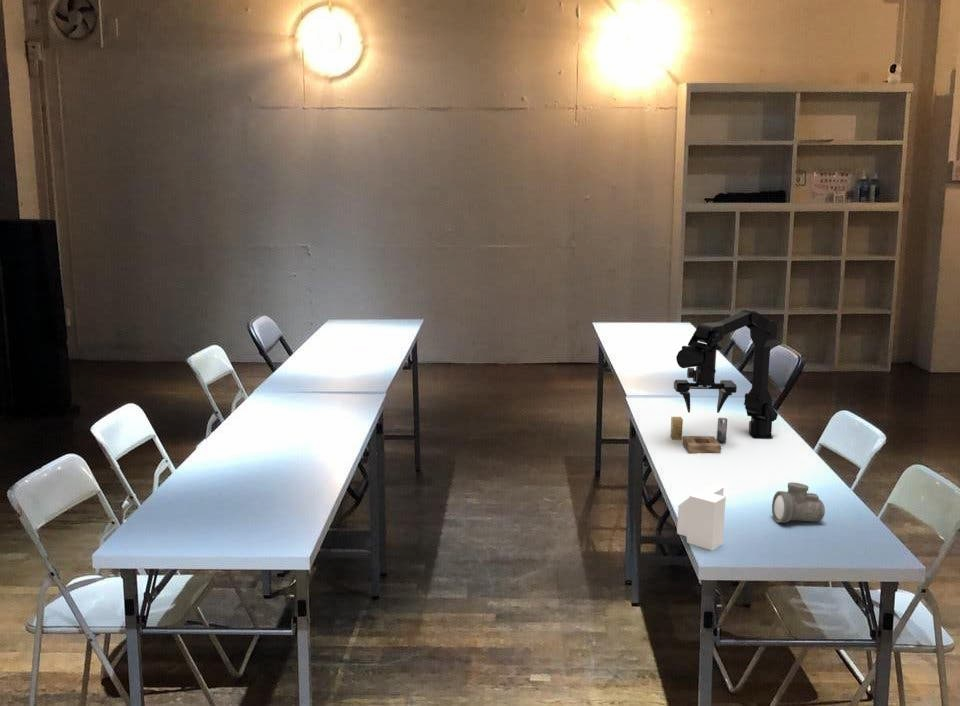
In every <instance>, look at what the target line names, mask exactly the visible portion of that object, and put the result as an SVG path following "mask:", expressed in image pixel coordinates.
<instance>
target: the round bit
mask: <svg viewBox="0 0 960 706" xmlns="http://www.w3.org/2000/svg"><path fill="white" fill-rule="evenodd" d="M727 429H728V418H727V417H718V418H717V429H716V440H717V441H718V443H719V444H720V445H724V444H726V443H727V431H728V430H727Z"/></svg>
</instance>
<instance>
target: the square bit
mask: <svg viewBox="0 0 960 706" xmlns="http://www.w3.org/2000/svg"><path fill="white" fill-rule="evenodd" d="M670 417H671V418H670V419H671V420H670V432H669V433H670V436H669V437H670V439H671V440H673V441H675V440H676V441H683V423H684V419H683V416H670Z"/></svg>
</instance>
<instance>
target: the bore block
mask: <svg viewBox="0 0 960 706" xmlns="http://www.w3.org/2000/svg"><path fill="white" fill-rule="evenodd" d="M682 445H683V447H684V448H685V450H686V452H687V453H688V454H697V453H722V444H719V443H718V441H717V438H716V437H715V436H706V435H705V436H703V435H702V436H699V435H698V436H697V435H696V436H695V435H693V436H690V435H689V436H688V435H682Z"/></svg>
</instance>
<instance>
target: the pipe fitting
mask: <svg viewBox="0 0 960 706" xmlns="http://www.w3.org/2000/svg"><path fill="white" fill-rule="evenodd" d="M809 488H810V487H809V486H808V485H806V484H803V483H799V482H794V481H793V482H791V481H790V482H787V491H785V490H784V491H783V490H778V491H776V492H775V494H774V496H773V498H772V503H771V513H772V517H773V520H774V522H776V523H777V524H787V523H789V522H790V521H791V520H792V521H803V522H811V523H820V522H821V521H822V520H823V519H824V517H825V514H826V509H825V504H824V502H823V501H822V500H821V499H820V497H819V495H818V494H817V493H813V492H809Z"/></svg>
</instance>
